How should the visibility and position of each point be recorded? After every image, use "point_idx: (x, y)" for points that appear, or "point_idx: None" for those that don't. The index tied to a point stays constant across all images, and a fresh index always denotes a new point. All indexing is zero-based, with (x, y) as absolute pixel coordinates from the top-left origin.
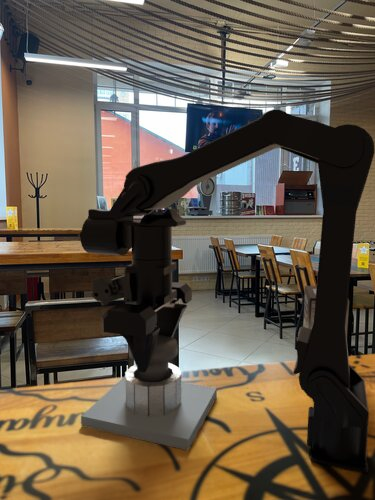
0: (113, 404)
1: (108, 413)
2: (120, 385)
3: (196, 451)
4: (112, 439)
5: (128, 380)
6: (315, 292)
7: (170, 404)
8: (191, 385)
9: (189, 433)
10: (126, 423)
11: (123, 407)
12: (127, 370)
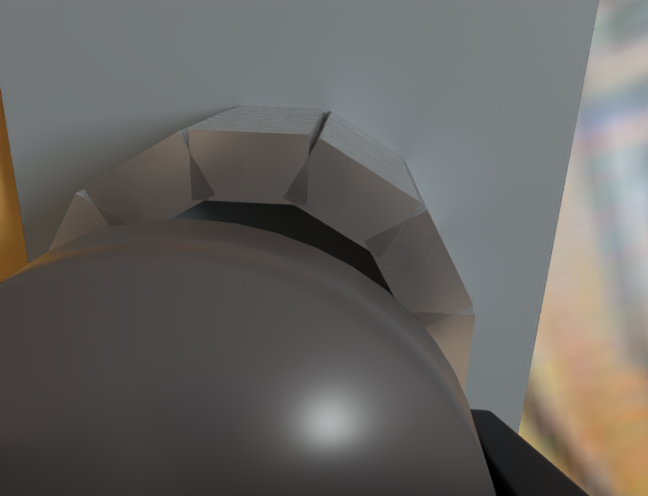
0: (164, 52)
1: (69, 73)
2: None
3: None
4: (4, 153)
5: (64, 222)
6: None
7: None
8: (506, 401)
9: None
10: (37, 213)
11: (160, 129)
12: (219, 133)
